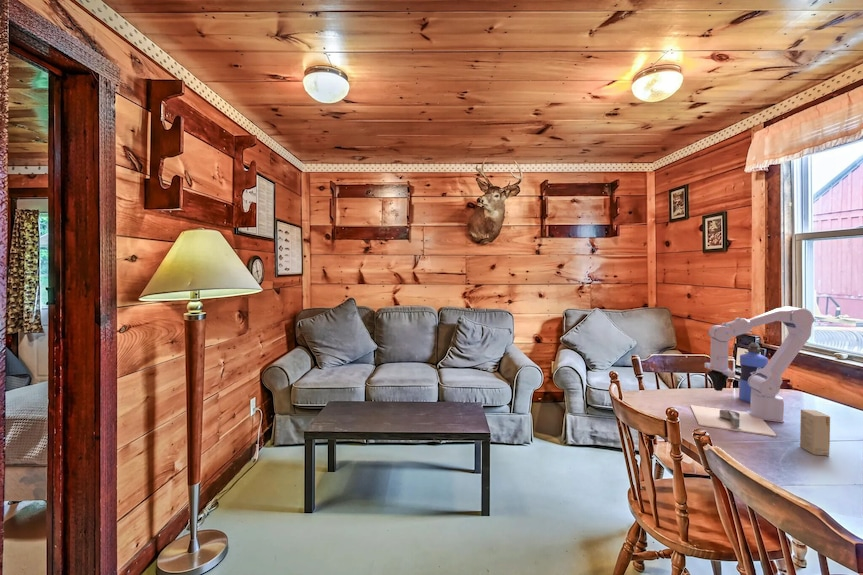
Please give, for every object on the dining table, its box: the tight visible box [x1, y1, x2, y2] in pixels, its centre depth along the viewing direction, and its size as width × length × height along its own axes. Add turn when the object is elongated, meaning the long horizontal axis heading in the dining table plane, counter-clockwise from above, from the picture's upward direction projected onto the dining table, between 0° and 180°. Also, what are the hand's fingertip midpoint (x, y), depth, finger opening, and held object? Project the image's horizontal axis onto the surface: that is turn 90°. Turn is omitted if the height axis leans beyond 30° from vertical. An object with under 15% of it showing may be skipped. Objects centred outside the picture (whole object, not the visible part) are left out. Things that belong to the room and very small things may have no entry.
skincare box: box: [799, 409, 831, 456], centre depth 123 cm, size 6×4×12 cm
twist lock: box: [720, 409, 740, 427], centre depth 145 cm, size 13×6×3 cm, turn 155°
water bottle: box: [738, 342, 769, 404], centre depth 170 cm, size 9×9×25 cm
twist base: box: [690, 404, 777, 438], centre depth 149 cm, size 22×22×1 cm
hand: (718, 390), depth 155 cm, fingers closed
